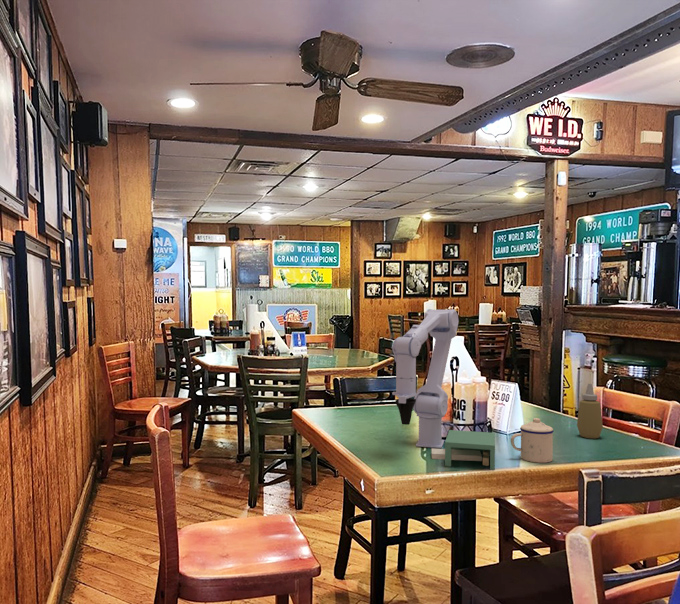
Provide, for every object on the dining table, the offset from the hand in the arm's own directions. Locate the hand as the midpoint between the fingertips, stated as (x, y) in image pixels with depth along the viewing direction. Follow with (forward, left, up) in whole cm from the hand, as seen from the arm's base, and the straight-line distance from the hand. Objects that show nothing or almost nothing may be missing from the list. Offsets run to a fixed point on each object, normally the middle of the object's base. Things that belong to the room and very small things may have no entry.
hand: (405, 424), depth 162 cm
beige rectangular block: (-3, +14, -10) cm, 18 cm away
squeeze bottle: (-42, +56, -9) cm, 71 cm away
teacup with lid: (-7, +35, -9) cm, 37 cm away
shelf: (0, +18, -9) cm, 21 cm away
